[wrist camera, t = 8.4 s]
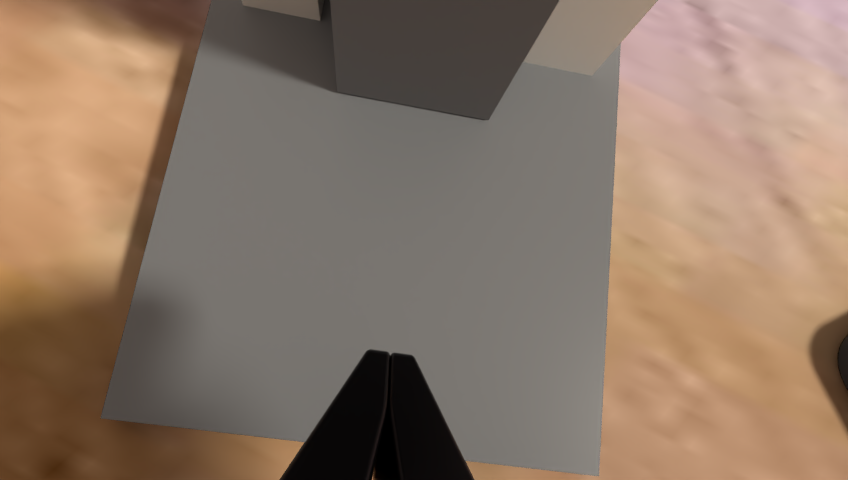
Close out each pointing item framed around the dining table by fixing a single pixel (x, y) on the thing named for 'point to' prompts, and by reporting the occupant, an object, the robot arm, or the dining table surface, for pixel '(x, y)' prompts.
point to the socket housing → (382, 241)
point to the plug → (434, 50)
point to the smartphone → (843, 361)
